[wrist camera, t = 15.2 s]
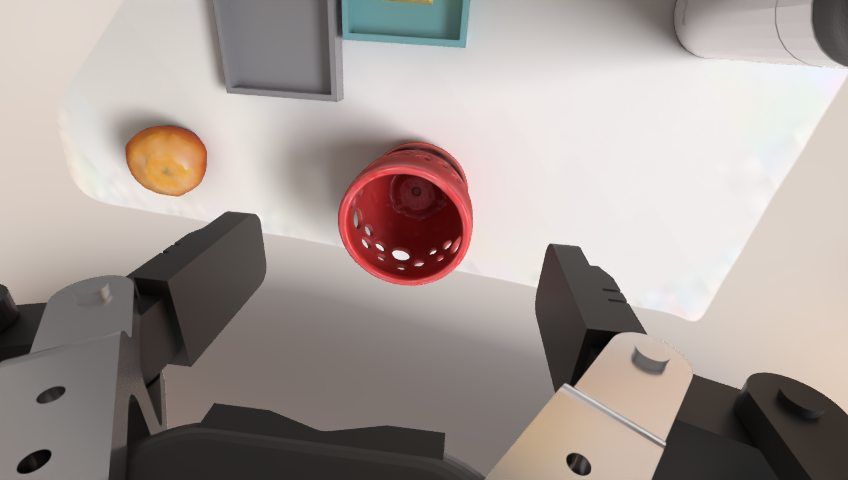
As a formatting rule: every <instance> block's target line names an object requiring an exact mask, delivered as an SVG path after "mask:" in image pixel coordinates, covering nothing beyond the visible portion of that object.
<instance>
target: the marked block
mask: <svg viewBox="0 0 848 480" xmlns="http://www.w3.org/2000/svg"><path fill="white" fill-rule="evenodd" d="M382 1H393V2H407V3H421V4H433V0H382Z"/></svg>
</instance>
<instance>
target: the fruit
mask: <svg viewBox="0 0 848 480" xmlns="http://www.w3.org/2000/svg"><path fill="white" fill-rule="evenodd" d="M125 149H126V159H127V164H128V167H129V169H130V171H131V174H132V175H133V176H134V178H135V179H136V180H137V181H138V182H139V183H140V184H141V185H142V186H144V187H145V188H146V189H149V190H151V191H154V192H156V193H159V194H164V195H170V196H181V195H183V194H185V193H186V192H189V191H191V190H192V189H194V188H195V187H196V186H198V185H199V184H200V183H201V181H202V179H203V177H204V174H205V171H206V165H207V151H206V148H205V146H204V144H203V143H202V141H201V140H200V139H199V138H198V136H197V135H195V134H194V133H193V132H191V131H188V130H186V129H183V128H179V127H175V126H157V127H151V128H147V129H145V130H143V131H141V132H139V133H138V134H136V135H135V136H134V137H133V138H132V139H131V140H130V141H129V142H128V144H127V145H126V148H125Z"/></svg>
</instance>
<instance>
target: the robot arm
mask: <svg viewBox="0 0 848 480" xmlns="http://www.w3.org/2000/svg"><path fill="white" fill-rule="evenodd" d="M674 26H675V30H676V35H677V37H678V39H679V41H680V43H681V44H682V45H683V46H684V47H685V48H686V50H688V51H689V52H691V53H692V54H694V55H696V56H700V57H703V58H712V59H724V60H734V61H747V62H761V63H774V64H788V65H801V66H815V67H832V68H845V69H848V0H677V2H676V7H675V12H674ZM265 274H266V258H265V251H264V243H263V236H262V229H261V223H260V219H259V217H258V216H257V215H256V214H250V213H240V212H230V211H228V212H225V213H224V214H222V215H221V216H220V217H218V218H217V219H215V220H214V221H212V222H211V223H210V224H209V225H207V226H205V227H204V228H202V229H199V230H196V231H194V232H191V233H189V234H187V235H186V236H184V237H183V238H181V239H180V240H178V241H177V242H175V244H174V245H171V246H170V247H168V248H167V249H165V250H164V251H163V253H159V254H158V255H157V256H155V257H154V258H152V259H151V260H149V261H148V262H146V263H145V264H143V265H142V266H141V267H139V268H138V269H136V270H135V271H133V272H132V273H130V274H129V275H128V276H126V277H123V276H117V275H112V276H111V275H109V276H99V277H94V278H89V279H86V280H82V281H79V282H76V283H74V284H71V285H69V286H67V287H65V288H63V289H61V290H60V291H58V292H57V293H55V294H54V295H53V296H52V297H51V298H50V299H49V300H48V302H47V303H36V304H25V305H15V303H14V301H13V299H12V297H11V295H10V293H9V291H8V289H7V287H5V286H4V285H1V284H0V480H651V479H652V480H848V415H847V414H846V413H845V412H844V411H843V410H842V409H841V408H840V407H839V406H838V405H837V404H836V403H834V402H833V401H832V400H831V399H829V398H828V397H826V396H825V395H823V394H822V393H820V392H818V391H817V390H815V389H813V388H811V387H810V386H808V385H805V384H803V383H801V382H799V381H797V380H794V379H791V378H789V377H785V376H782V375H778V374H772V373H756V374H753V375H751V376H750V377H749V378H748V379H747V381H746V383H745V384H744V386H743V388H742V389H741V390H740V389H737V388H734V387H731V386H728V385H725V384H721V383H718V382H715V381H712V380H709V379H706V378H703V377H700V376H697V375H695V374H693V369H692V367H691V365H690V363H689V361H688V360H687V359H686V358H685V357H684V355H682V354H681V353H680V352H679V351H678V350H676V349H675V348H674V347H672V346H671V345H669V344H668V343H666V342H664V341H662V340H660V339H657V338H655V337H652V336H649V335H647V333H646V332H645V330H644V328H643V327H642V325H641V323H640V322H639V320H638V318H637V317H636V315H635V313H634V312H633V310H632V309H631V307H630V305H629V304H628V303H627V300H626V299H625V297H624V295H623V294H622V293H620V289H619V287H618V286H617V284H616V282H615V281H614V279H613V278H612V277H611V276H610V275H609V274H607V273H606V272H605V271H603V270H602V269H601V268H600V267H598V266H590V265H589V263H588V261H587V259H586V257H585V256H584V254H583V252H582V250H581V248H580V247H579V246H571V245H560V244H549V245H548V247H547V250H546V253H545V258H544V262H543V267H542V271H541V275H540V280H539V284H538V289H537V293H536V301H535V310H536V317H537V321H538V325H539V329H540V334H541V338H542V342H543V346H544V350H545V354H546V358H547V362H548V366H549V370H550V374H551V378H552V382H553V386H554V390H555V395H554V396H553V397H552V398H551V400H550V401H549V402H548V403H547V404H546V406H545V407H544V408H543V410H541V412H540V413H539V414H538V415H537V417H536V418H535V419H534V420H533V421H532V423H531V424H530V425H529V426H528V427H527V429H526V430H525V431H524V432H523V434H522V435H521V436H520V437H519V438H518V440H517V441H516V442H515V443H514V444H513V446H512V447H511V448H510V449H509V451H508V452H507V453H506V454H505V455H504V457H503V458H502V459H501V460H500V461H499V463H498V464H497V465H496V466H495V467H494V469H493V470H492V471H491V472H490V473H489V475H488V476H487V477H484V476H483V475H482V474H481V473H480V472H478V471H477V470H475V469H474V468H472V467H471V466H470V465H468V464H466V463H465V462H463V461H461V460H459V459H457V458H455V457H453V456H451V455H448V454H446V453H444V442H445V433H441V432H433V431H425V430H417V429H410V428H402V427H394V426H377V427H368V428H357V429H348V430H338V431H319V430H316V429H313V428H311V427H309V426H306V425H304V424H302V423H299V422H297V421H294V420H291V419H289V418H287V417H284V416H282V415H280V414H277V413H275V412H272V411H270V410H263V409H255V408H247V407H240V406H232V405H224V404H216V403H214V404H213V406H212V407H211V409H210V410H209V411H208V413H207V414H206V416H205V417H204V419H203V420H202V421H201V423H193V424H188V425H183V426H178V427H175V428H172V429H167V410H166V392H165V379H164V376H163V372H162V369H163V368H164V367H165V366H166V365H167V364H174V365H181V366H189V367H191V366H192V365H193V364H194V363H195V362H196V360H197V359H198V358H199V357H200V356H201V354H202V353H203V352H204V351H205V350H206V348H207V347H208V346H209V345H210V344H211V343H212V342H213V340H214V339H215V338H216V337H217V336H218V335H219V333H220V332H221V331H222V330H223V329H224V327H225V326H226V325H227V324H228V323H229V322H230V320H231V319H232V318H233V317H234V316H235V314H236V313H237V312H238V311H239V310H240V309H241V307H242V306H243V305H244V304H245V303H246V302H247V300H248V299H249V298H250V297H251V296H252V295H253V293H254V292H255V291H256V290H257V289H258V287H259V286H260V285H261V284H262V282H263V280H264V277H265Z"/></svg>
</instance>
